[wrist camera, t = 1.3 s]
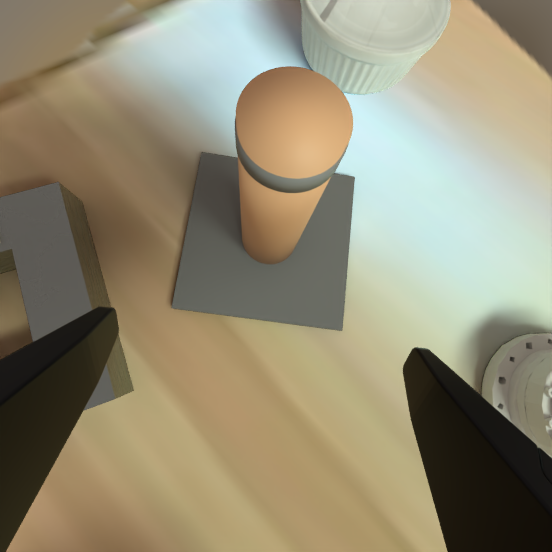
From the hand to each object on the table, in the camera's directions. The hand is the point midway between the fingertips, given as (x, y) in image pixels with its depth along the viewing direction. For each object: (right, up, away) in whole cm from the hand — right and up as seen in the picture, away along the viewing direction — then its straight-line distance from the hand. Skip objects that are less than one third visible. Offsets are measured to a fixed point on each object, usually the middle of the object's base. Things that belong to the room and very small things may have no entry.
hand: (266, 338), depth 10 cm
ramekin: (+7, +22, +19) cm, 30 cm away
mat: (0, +5, +14) cm, 15 cm away
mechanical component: (+20, -7, +14) cm, 26 cm away
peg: (0, +5, +14) cm, 15 cm away
